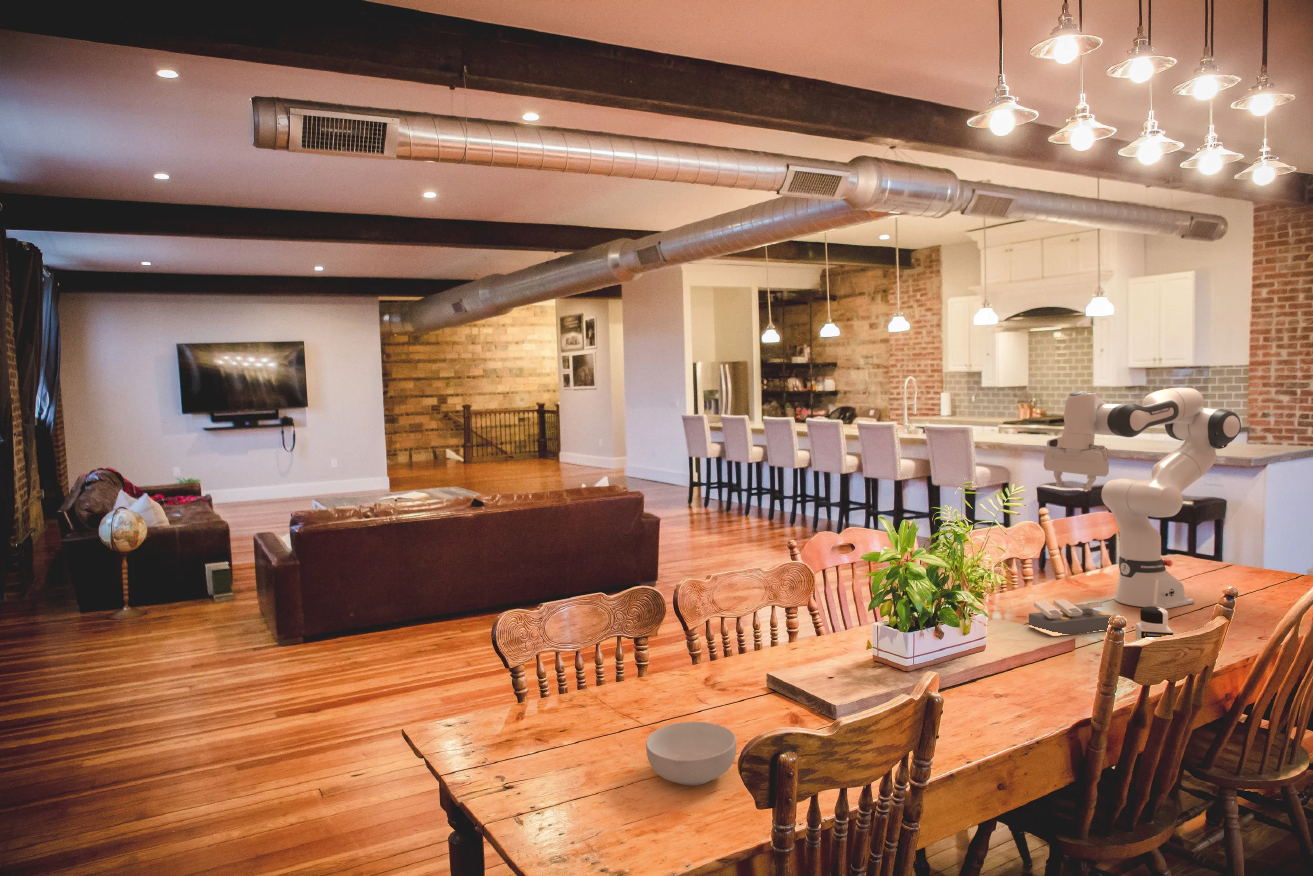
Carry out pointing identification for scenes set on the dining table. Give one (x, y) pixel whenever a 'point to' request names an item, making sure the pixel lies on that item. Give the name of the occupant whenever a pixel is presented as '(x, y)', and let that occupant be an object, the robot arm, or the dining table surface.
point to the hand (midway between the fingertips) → (1073, 488)
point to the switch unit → (1072, 622)
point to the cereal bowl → (691, 752)
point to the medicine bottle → (1153, 623)
